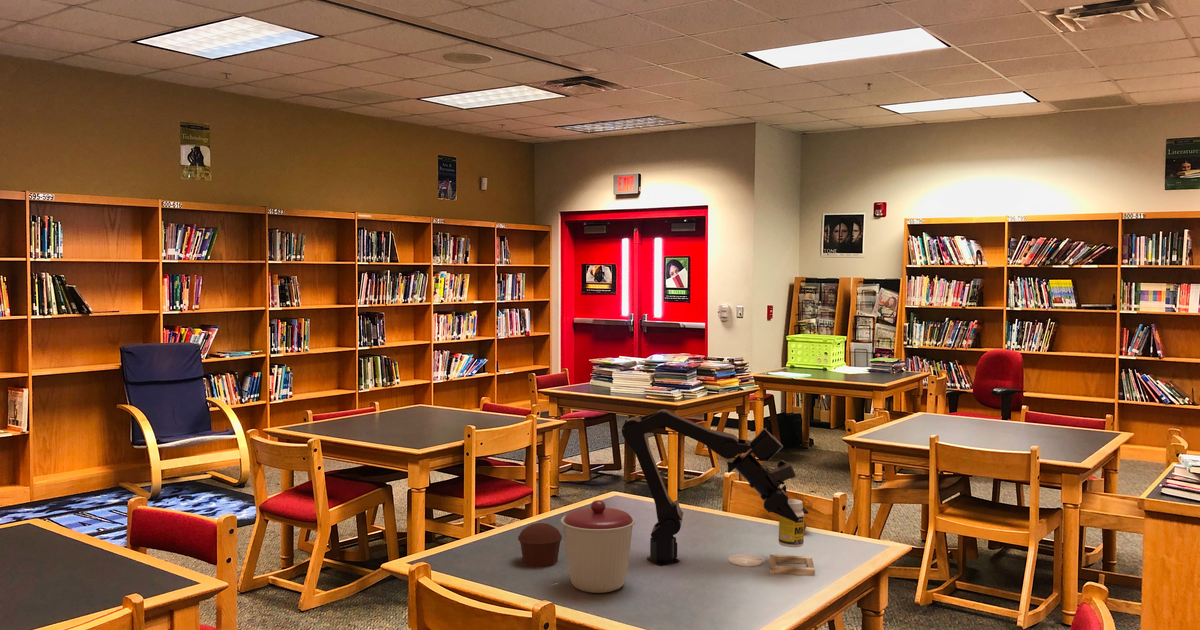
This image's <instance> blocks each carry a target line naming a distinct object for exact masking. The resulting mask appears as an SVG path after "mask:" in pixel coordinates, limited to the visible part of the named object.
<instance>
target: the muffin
mask: <svg viewBox="0 0 1200 630" xmlns="http://www.w3.org/2000/svg"><path fill="white" fill-rule="evenodd" d="M562 539H563V535H562V534H561V532H560V530H559V529H558V528H557V527H555V526H554V525H552V524H550V523H544V522H537V523H532V524H530V525H529V524H528V526H526V527H524V529H522V530H521V531H520V533H519V534H518V536H517V540H518V541H519V543H520V549H521V554H522V561H523V563H524V564H525V566H528V567H532V568H546V567H551V566H552V567H553V566H554V565H556V564H557V563H558V559H559V552H560V545H561V541H562Z"/></svg>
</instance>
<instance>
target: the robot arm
mask: <svg viewBox="0 0 1200 630" xmlns="http://www.w3.org/2000/svg"><path fill="white" fill-rule="evenodd" d="M661 427H665V428H667V429H669V430H672V431H674V432H676V433H678V434H681V435H683V436H685V437H688V438H690V439H693V440H694V441H697V442H699V443H701V444H703V445H705V446H706V447H708V448H709V450H711V451H712V452H714V453H715V454H716V455H719V456H720V457H721V458H723V459H725V460H726V464H727V473H729V474H730V473H732V471H734V469H735V470H736V471H737V472H738V473H739V474H740V475H741V477H742V478H744V480H745V481H746V482H748V484H749V487H750V488H751V489H754V490H755V491H756V492H757V494H759V495H760V498H761V499H762V500H763V509H765V511H767V512H768V513H769V514H770V513H773V514H775V515H778V516H779V515H780V516H783V517H785V518H787V519H790V520H792V521H794V522H797V521H798V520H799V518H798V517H797V515H796V514H795V512H794V511H793V509H792V508H791V507H790V505H789V504H788V499H790V498H789V496H788V493H787V485H786V483H785V481H787V480H791V479H794V478H796V477H797V475H796V471H795V470H794V467H793V465H792V463H791V462H789V461H788V462H787V461H784V460H783V459H780V460H779V461H777V466H776V467H774V468H773V469H770V468H768V467H767V466H764V465H762V463H760V461H761V462H764V461H766V462H769V461H770V460H771V459H772V458H773V457H775V455H776V454H777V453H778V452H779V451H781V450H782V449H783V448H784V445H783V444H782V443H781V442H780V441H779V440H778V438H776V436H775V435H773V434H771V433H770V432H769V431H768V430H767V429H766V428H764V427H763V428H762V429H761V430H760V431H759V433H758V434H756V435H755V437H754V438H753V439H752V440H748V439H742V438H738V437H737V436H736V435H735V434H733V433H730V432H726V431H721V430H714V429H710V428H707V427H705V426H703V425H700V424H698V423H696V422H693V421H692V420H689V419H687V418H685V417H682V416H680V415H677V414H675V413H673V412H671V411H669V410H668V409H666V408H663V409H660V410H658V411H657V412H653V413H650V414H646V415H644V416H641V417H639V416H631V417H629V418H628V419H627V420H626V421H625V422H624V424H623V425H622V427H621V434H622V437H623V438H624V440H625V442H626V444H627V445H628V447H629V448H630V449H631V450H632V452H633V453H634V454H635V456H636V458H637V461H638V464H639V466H640V468H641V470H642V471H641V472H642V473H643V477H644V479H645V481H646V483H647V486H648V488H649V491H650V494H651V497H652V498H653V499H652V500H653V501H654V505H655V511H656V518H657V522H656V523H655V524H654V526H653V528H652V531H651V534H650V536H651V537H650V540H649V541H650V542H649V543H650V544H649V545H650V546H649V547H650V548H649V549H650V550H649V556H647V557H646V560H648V561H650V562H652V563H654V564H656V565H658V566H662V565H668V564H674V563H679V562H680V559H678V542H677V537H676V536H675V535H677V534H678V533H679V532H680V530H681V528H682V523H683V516H684V511H682V509H681V507H680V502H679V500H678V499H677V500H674V501H673V499H671V497H670V495H669V493H668V491H667V487H666V485H665V483H664V481H663V478H662V476H661V474H660V470H659V468H658V465H657V464H656V463H657V462H656V461H655V458H654V455H653V452H652V451H651V447H650V441H649V434H648V433H650V432H652V431H654V430H655V431H656V430H657V429H659V428H661ZM742 454H743V455H742ZM733 458H734V459H733ZM732 459H733V460H732ZM758 460H759V461H758ZM781 485H782V487H781Z"/></svg>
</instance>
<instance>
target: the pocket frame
mask: <svg viewBox="0 0 1200 630" xmlns="http://www.w3.org/2000/svg"><path fill="white" fill-rule="evenodd" d="M777 563H786V564H787V563H789V564H803V565H804V564H805V565H806V566H805V567H803V566H802V567H800V566H788V565H786V566H784V565H777ZM769 569H770V570H769V571H770V574H779V575H780V574H781V575H795V576H796V575H799V576H813V577H814V576H816V575H815V574H816V573H815V571H816V569H815V565H814V561H813V556H805V555H804V556H803V555H785V554H769Z"/></svg>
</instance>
